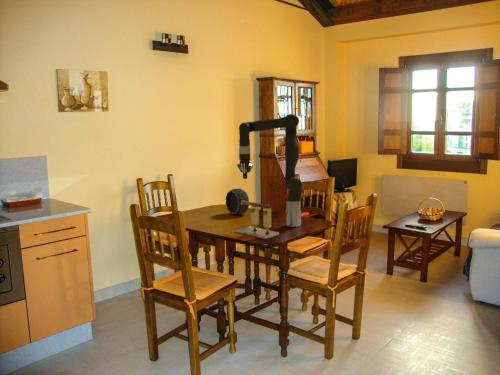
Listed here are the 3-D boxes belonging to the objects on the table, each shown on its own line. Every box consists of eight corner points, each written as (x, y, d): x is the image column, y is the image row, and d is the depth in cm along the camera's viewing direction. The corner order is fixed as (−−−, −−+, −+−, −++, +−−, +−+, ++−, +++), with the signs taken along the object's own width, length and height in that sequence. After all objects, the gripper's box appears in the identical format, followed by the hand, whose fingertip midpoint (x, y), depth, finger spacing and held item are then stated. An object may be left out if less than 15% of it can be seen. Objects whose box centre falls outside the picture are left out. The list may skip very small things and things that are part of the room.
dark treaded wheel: (236, 211, 368) (235, 186, 365) (250, 215, 352) (250, 189, 349) (224, 213, 362) (223, 187, 359) (238, 217, 346) (238, 191, 343)
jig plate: (249, 228, 313) (249, 226, 312) (279, 234, 295) (279, 232, 294) (235, 231, 304) (235, 229, 303) (265, 238, 286) (265, 236, 285)
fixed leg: (267, 232, 295) (267, 207, 293) (271, 233, 293) (271, 207, 290) (262, 233, 292) (261, 208, 289) (266, 234, 289) (266, 209, 287)
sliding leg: (255, 229, 303) (254, 205, 300) (258, 230, 300) (258, 206, 298) (249, 230, 299) (249, 206, 297) (253, 231, 297) (253, 207, 294)
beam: (244, 203, 306) (244, 200, 306) (271, 208, 290) (271, 204, 289) (240, 204, 304) (240, 200, 304) (268, 209, 287) (268, 205, 287)
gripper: (233, 152, 311) (234, 178, 314) (247, 153, 302) (248, 180, 305) (241, 152, 317) (242, 177, 319) (255, 153, 308) (256, 179, 310)
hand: (245, 178), depth 312 cm, fingers closed
